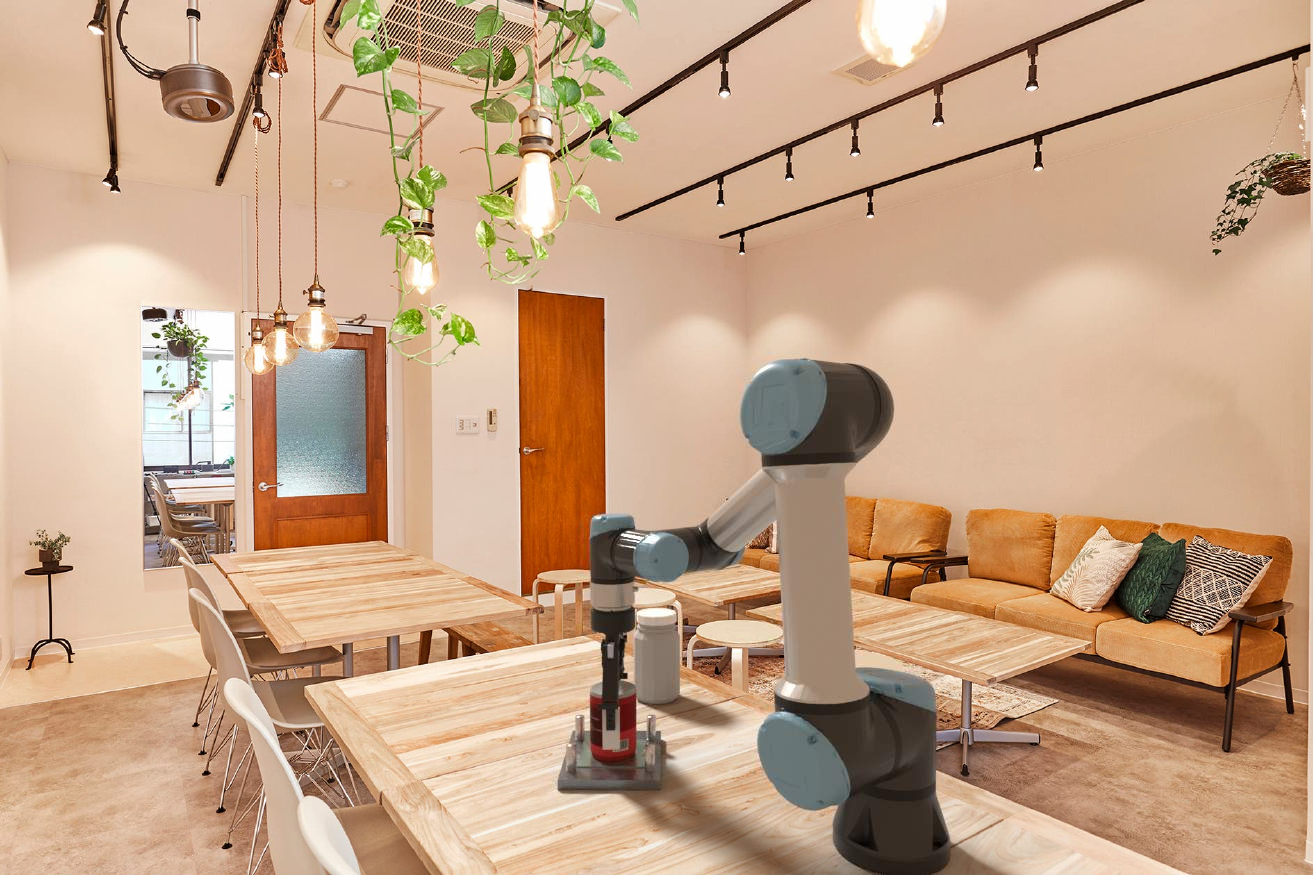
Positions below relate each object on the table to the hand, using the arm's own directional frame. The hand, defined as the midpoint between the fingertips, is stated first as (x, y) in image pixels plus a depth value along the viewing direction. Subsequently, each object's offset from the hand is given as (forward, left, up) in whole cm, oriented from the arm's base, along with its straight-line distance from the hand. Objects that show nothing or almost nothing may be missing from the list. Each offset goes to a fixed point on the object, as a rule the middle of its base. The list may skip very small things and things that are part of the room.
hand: (614, 732), depth 130 cm
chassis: (0, 0, -5) cm, 5 cm away
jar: (+32, -7, -5) cm, 33 cm away
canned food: (0, 0, -4) cm, 4 cm away
